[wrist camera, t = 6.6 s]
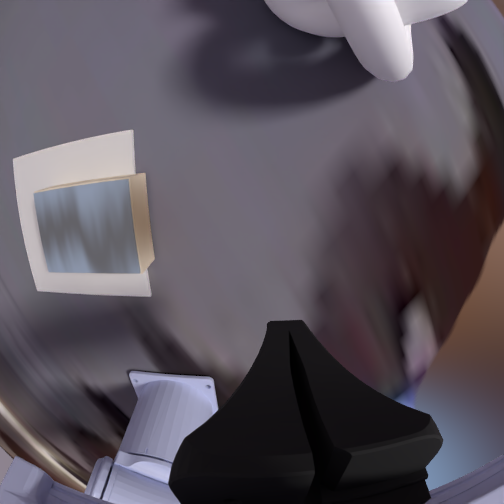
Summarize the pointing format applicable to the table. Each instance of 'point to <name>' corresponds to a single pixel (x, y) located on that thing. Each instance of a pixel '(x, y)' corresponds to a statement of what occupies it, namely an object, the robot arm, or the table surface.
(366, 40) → the white torus knot
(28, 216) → the white mat
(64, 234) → the blue tan block
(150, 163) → the table surface
